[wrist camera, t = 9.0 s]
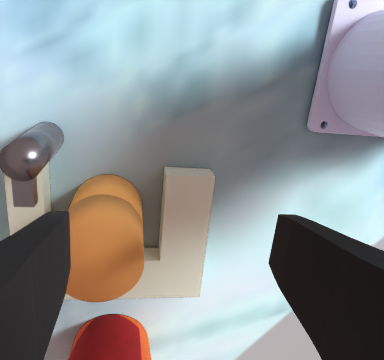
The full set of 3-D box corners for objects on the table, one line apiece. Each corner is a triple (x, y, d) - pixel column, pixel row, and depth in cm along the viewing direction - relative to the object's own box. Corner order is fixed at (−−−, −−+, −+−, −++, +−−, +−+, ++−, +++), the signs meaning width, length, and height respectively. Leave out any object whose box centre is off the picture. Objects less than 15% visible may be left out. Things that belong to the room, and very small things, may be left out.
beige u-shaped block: (210, 168, 22) (215, 177, 20) (196, 282, 25) (199, 296, 23) (13, 159, 20) (3, 168, 18) (24, 285, 23) (16, 301, 21)
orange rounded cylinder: (142, 174, 21) (144, 222, 15) (141, 235, 23) (143, 299, 17) (70, 174, 21) (43, 223, 15) (74, 236, 22) (51, 304, 16)
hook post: (63, 122, 19) (40, 144, 15) (64, 172, 20) (44, 207, 16) (30, 120, 19) (-4, 142, 14) (33, 171, 20) (3, 206, 16)
